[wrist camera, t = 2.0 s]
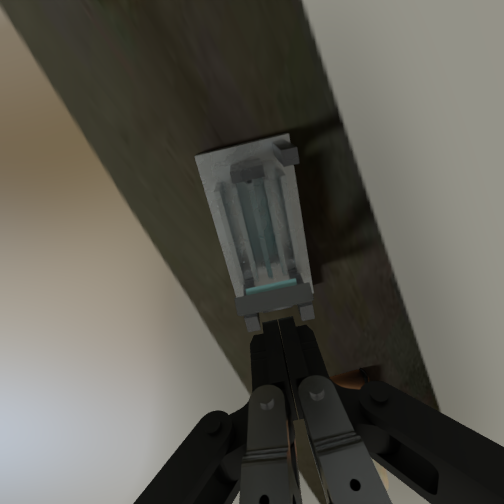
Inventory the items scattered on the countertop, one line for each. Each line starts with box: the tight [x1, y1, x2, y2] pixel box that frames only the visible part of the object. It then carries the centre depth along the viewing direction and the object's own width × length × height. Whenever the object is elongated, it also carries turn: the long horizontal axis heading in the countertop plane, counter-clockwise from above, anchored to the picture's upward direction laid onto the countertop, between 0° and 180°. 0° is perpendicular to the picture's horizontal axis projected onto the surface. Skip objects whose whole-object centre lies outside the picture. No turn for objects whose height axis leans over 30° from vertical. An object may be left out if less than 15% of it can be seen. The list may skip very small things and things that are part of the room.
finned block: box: [195, 132, 315, 332], centre depth 29 cm, size 18×9×8 cm, turn 13°
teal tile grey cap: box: [235, 278, 314, 316], centre depth 24 cm, size 14×4×2 cm
